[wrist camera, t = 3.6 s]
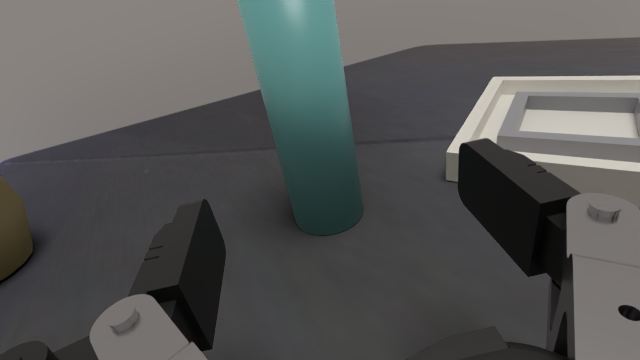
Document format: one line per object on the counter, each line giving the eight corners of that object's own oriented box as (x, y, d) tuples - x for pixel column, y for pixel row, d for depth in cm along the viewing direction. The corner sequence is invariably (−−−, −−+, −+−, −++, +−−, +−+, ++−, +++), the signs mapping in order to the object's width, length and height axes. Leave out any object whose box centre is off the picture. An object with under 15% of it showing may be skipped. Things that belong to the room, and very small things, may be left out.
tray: (491, 98, 36) (493, 77, 34) (684, 102, 28) (694, 75, 27) (446, 180, 25) (446, 152, 24) (741, 222, 17) (762, 184, 16)
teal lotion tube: (318, 189, 27) (262, -78, 18) (374, 200, 24) (339, -103, 16) (281, 226, 23) (193, -76, 15) (341, 242, 21) (275, -107, 13)
